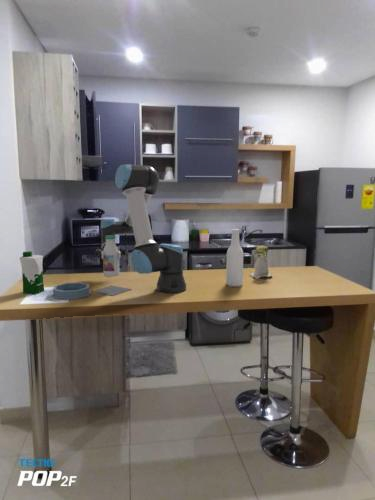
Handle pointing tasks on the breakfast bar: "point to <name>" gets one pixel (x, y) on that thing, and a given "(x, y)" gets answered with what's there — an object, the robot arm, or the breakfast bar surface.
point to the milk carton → (32, 273)
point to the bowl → (71, 291)
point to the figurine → (261, 263)
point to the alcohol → (234, 261)
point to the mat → (111, 290)
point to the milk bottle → (110, 257)
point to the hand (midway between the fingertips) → (111, 255)
